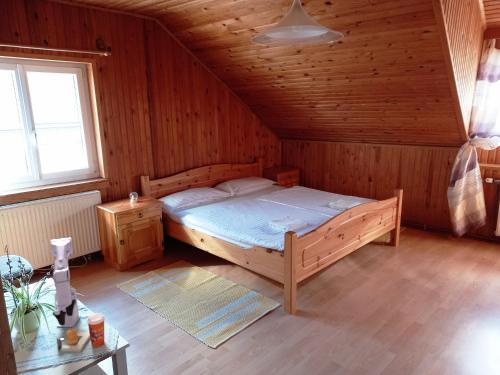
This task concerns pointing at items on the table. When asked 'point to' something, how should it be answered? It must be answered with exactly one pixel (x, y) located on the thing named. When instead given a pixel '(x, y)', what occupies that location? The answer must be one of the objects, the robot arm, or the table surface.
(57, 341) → the hook post
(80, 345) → the beige u-shaped block
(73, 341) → the orange rounded cylinder
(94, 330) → the paper cup
